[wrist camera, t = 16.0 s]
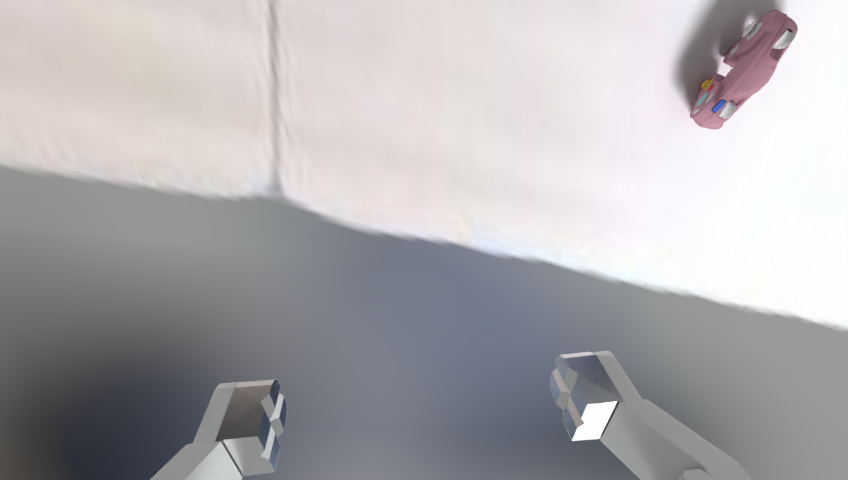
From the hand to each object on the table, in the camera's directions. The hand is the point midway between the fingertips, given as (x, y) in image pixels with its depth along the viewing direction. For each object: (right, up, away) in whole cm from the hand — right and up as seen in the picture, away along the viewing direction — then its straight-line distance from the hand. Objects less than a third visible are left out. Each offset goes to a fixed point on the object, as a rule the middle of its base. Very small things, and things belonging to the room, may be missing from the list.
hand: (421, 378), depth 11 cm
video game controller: (+29, +21, +25) cm, 43 cm away
